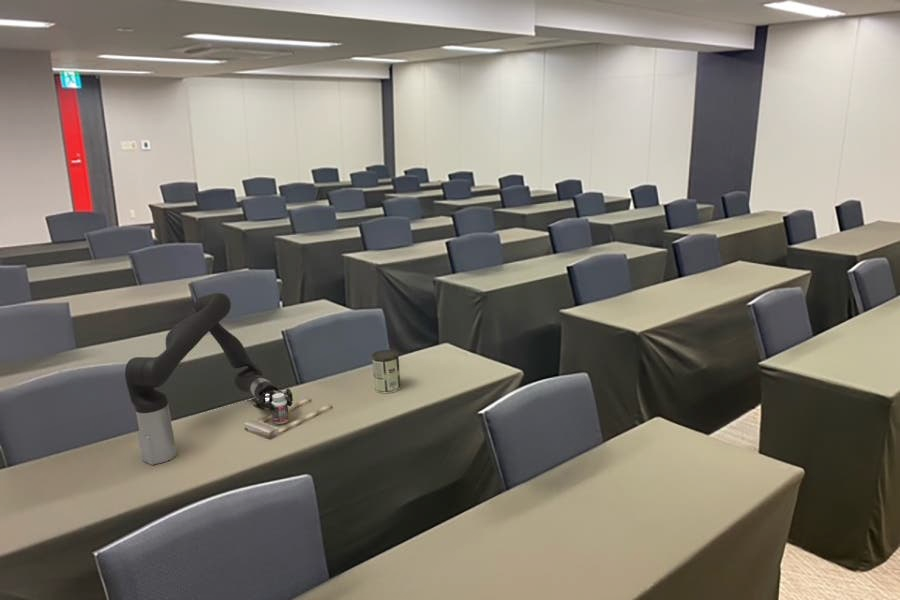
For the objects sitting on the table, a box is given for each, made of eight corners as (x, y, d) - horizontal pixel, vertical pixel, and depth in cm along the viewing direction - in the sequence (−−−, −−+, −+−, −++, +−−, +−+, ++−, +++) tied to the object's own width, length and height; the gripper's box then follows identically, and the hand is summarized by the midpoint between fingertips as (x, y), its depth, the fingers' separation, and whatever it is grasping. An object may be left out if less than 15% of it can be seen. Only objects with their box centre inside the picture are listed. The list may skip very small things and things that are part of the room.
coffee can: (385, 381, 251) (382, 348, 247) (406, 385, 246) (403, 351, 242) (368, 390, 243) (365, 356, 239) (390, 395, 237) (387, 360, 234)
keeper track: (269, 439, 208) (268, 432, 207) (244, 429, 215) (243, 423, 215) (332, 408, 229) (331, 401, 228) (307, 400, 237) (307, 394, 236)
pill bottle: (281, 425, 216) (278, 399, 213) (270, 422, 218) (266, 396, 216) (292, 419, 220) (289, 393, 218) (281, 416, 223) (277, 390, 220)
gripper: (243, 386, 224) (260, 402, 210) (281, 376, 232) (300, 390, 218) (245, 406, 226) (263, 422, 212) (284, 395, 234) (303, 410, 221)
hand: (282, 406), depth 216 cm, fingers closed on pill bottle, 5 cm apart
